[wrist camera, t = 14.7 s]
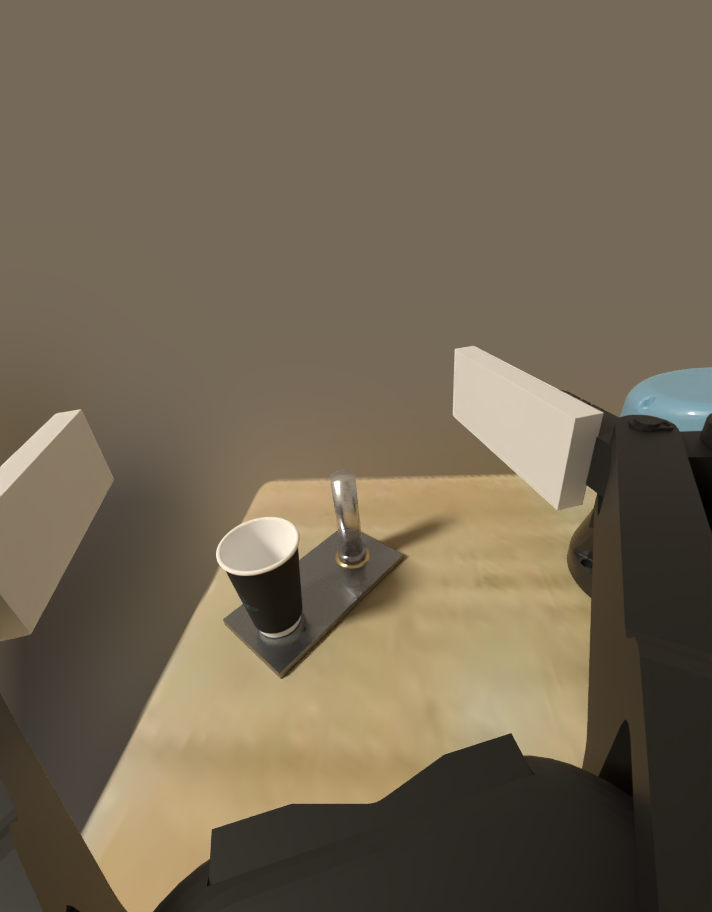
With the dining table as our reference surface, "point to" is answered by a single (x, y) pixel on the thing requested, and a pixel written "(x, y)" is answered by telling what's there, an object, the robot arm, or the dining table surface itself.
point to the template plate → (318, 601)
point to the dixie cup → (265, 572)
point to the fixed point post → (347, 518)
